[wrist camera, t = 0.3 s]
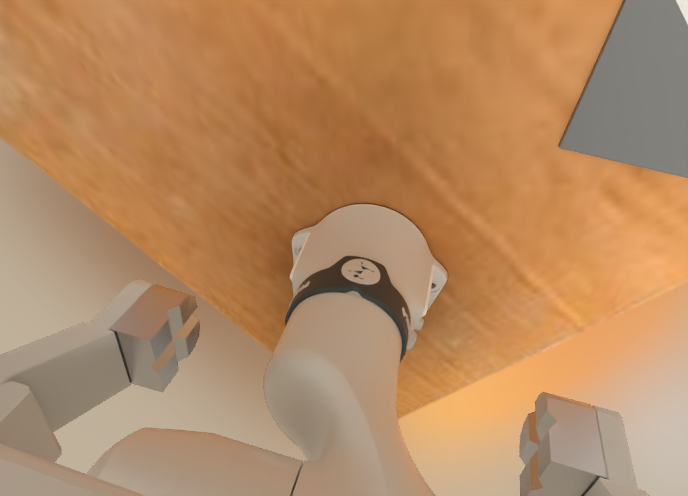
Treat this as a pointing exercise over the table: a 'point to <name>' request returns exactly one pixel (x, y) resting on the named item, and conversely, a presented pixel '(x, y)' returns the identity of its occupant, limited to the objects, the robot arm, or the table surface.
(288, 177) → the table surface
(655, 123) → the mat
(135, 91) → the table surface
